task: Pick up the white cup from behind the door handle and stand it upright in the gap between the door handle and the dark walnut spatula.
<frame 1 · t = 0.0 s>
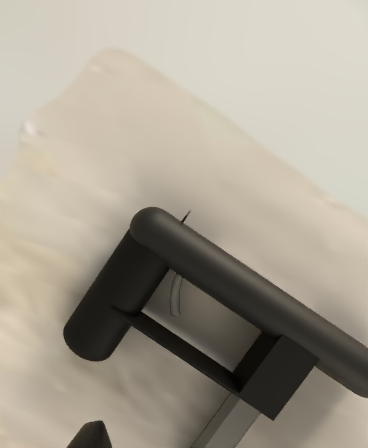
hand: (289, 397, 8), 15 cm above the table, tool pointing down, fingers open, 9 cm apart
door handle: (210, 356, 23), on the table
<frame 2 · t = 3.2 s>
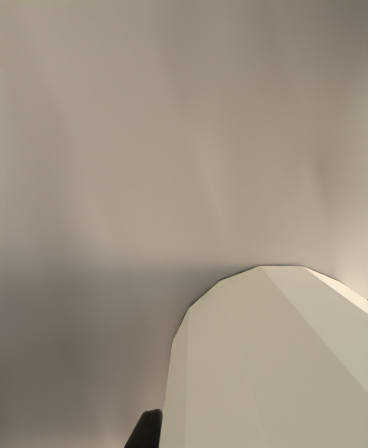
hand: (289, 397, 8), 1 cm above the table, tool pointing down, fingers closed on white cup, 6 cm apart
white cup: (268, 353, 9), on the table, touching gripper
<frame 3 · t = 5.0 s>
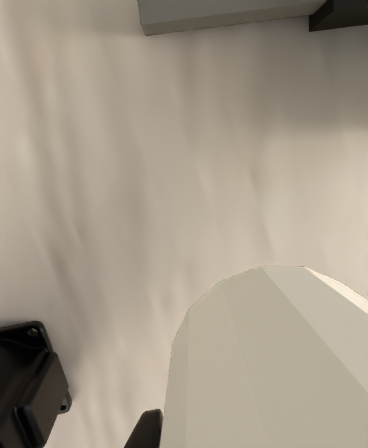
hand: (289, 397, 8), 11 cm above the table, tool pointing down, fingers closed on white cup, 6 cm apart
white cup: (269, 353, 9), point 10 cm above the table, touching gripper
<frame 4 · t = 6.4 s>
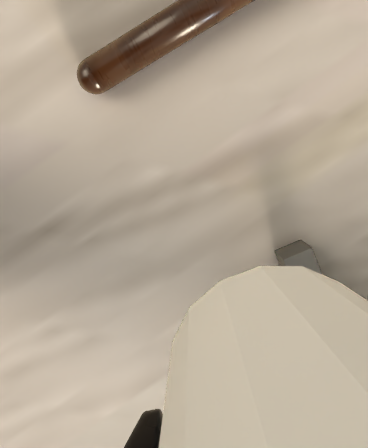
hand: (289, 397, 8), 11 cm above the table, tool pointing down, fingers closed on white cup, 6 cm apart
white cup: (268, 353, 9), point 10 cm above the table, touching gripper
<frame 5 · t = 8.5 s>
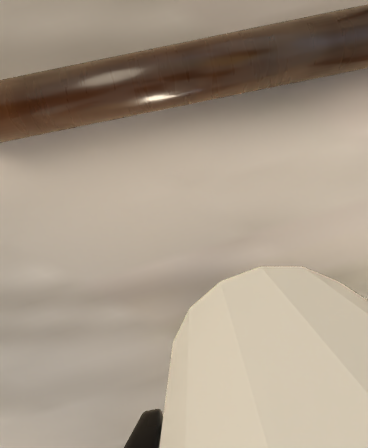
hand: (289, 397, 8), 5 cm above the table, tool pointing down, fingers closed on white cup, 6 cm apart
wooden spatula: (309, 53, 10), on the table
white cup: (269, 353, 9), point 3 cm above the table, touching gripper
when the fingers open (1 cm above the table, at t = 9.9 s): white cup stays where it is, on the table.
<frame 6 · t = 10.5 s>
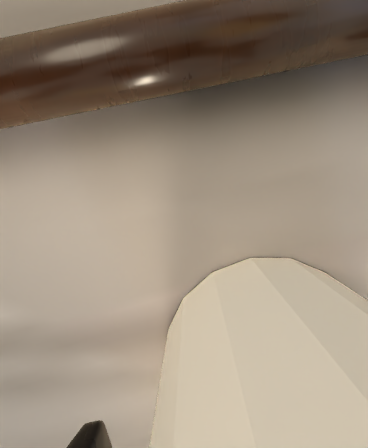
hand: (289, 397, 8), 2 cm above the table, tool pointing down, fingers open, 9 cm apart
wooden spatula: (352, 23, 7), on the table
white cup: (259, 341, 10), on the table
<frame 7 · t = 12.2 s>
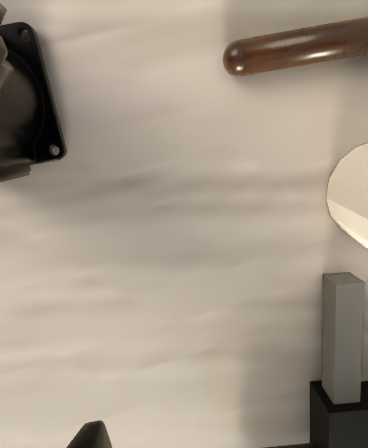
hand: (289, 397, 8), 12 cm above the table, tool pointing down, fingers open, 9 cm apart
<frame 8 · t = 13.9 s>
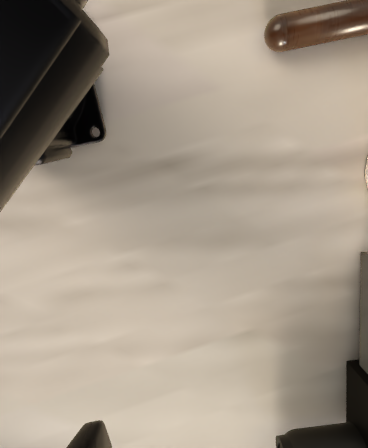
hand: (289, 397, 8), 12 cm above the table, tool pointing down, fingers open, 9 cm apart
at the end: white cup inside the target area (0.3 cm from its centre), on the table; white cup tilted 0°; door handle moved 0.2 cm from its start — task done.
